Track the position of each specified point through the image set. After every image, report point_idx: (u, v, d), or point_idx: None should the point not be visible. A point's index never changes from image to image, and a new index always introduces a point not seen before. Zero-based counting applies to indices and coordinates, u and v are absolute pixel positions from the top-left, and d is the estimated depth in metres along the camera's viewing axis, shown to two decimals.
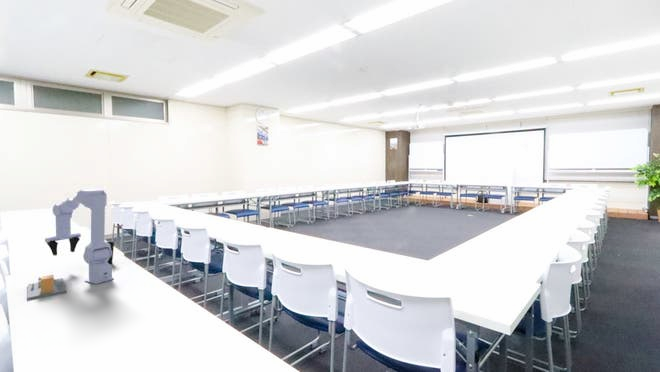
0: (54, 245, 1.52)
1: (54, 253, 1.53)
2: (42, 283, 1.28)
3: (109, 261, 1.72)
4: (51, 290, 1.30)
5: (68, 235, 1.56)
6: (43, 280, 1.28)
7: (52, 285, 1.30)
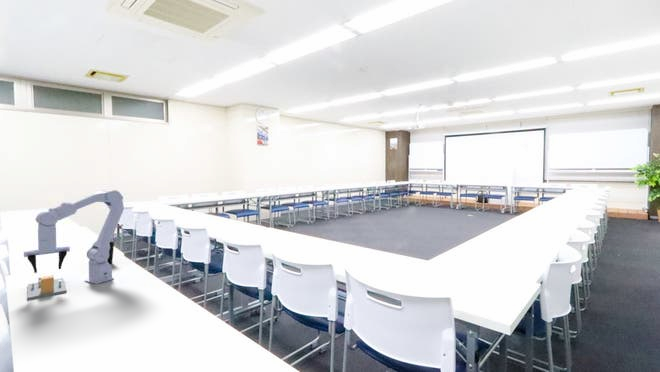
0: (31, 261, 1.26)
1: (34, 270, 1.28)
2: (42, 283, 1.28)
3: (109, 261, 1.72)
4: (51, 290, 1.30)
5: (50, 249, 1.30)
6: (43, 280, 1.28)
7: (52, 285, 1.30)
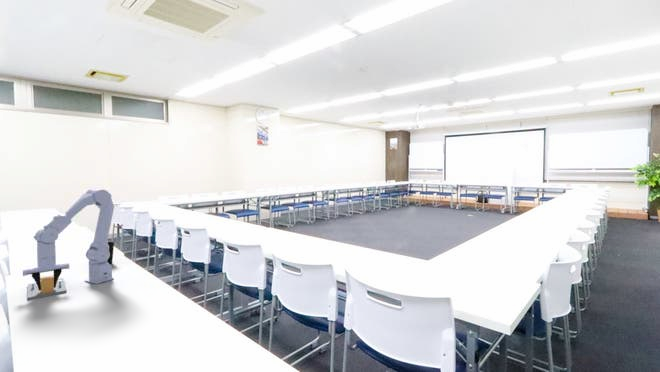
0: (36, 279, 1.26)
1: (38, 287, 1.28)
2: (42, 283, 1.28)
3: (109, 261, 1.72)
4: (51, 290, 1.30)
5: (49, 267, 1.28)
6: (43, 280, 1.28)
7: (52, 285, 1.30)
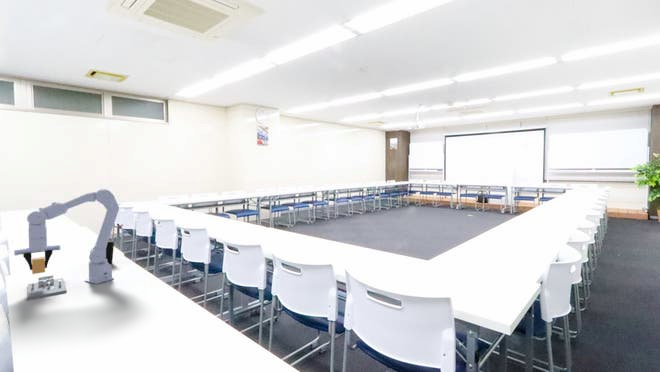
0: (27, 258, 1.30)
1: None
2: (33, 264, 1.32)
3: (109, 261, 1.72)
4: (42, 271, 1.34)
5: (40, 248, 1.33)
6: (34, 261, 1.32)
7: (43, 266, 1.34)
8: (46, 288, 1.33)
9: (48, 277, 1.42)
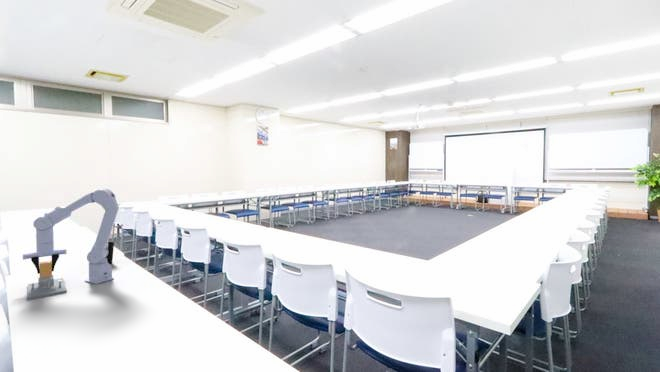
0: (35, 262, 1.35)
1: (37, 270, 1.37)
2: (41, 268, 1.36)
3: (109, 261, 1.72)
4: (49, 274, 1.38)
5: (47, 252, 1.37)
6: (42, 265, 1.37)
7: (50, 270, 1.39)
8: (46, 288, 1.33)
9: (48, 277, 1.42)
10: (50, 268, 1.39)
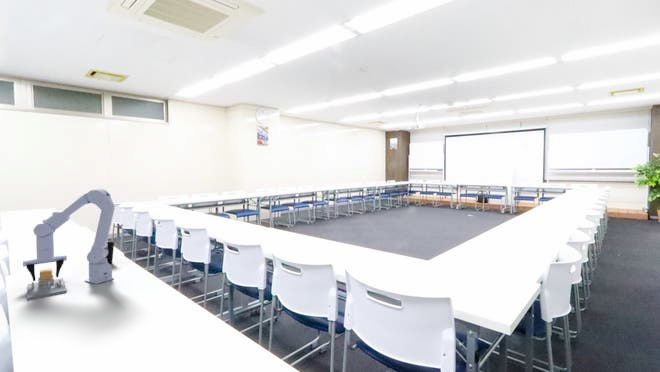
0: (30, 270, 1.34)
1: None
2: (41, 276, 1.37)
3: (109, 261, 1.72)
4: None
5: (48, 259, 1.38)
6: (42, 273, 1.37)
7: (50, 278, 1.39)
8: (46, 288, 1.33)
9: None
10: (50, 276, 1.39)
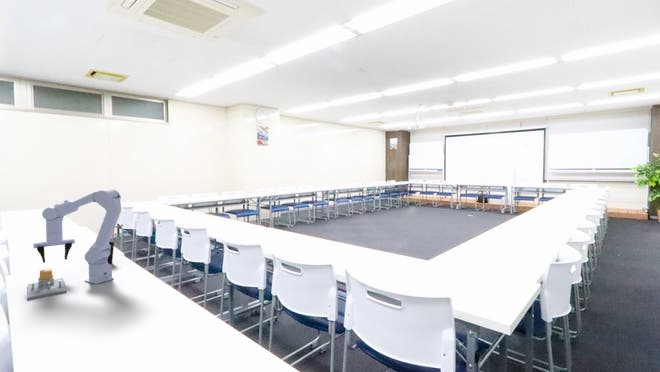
0: (40, 251, 1.40)
1: None
2: (41, 276, 1.37)
3: (109, 261, 1.72)
4: None
5: (57, 241, 1.43)
6: (42, 273, 1.37)
7: (50, 278, 1.39)
8: (46, 288, 1.33)
9: None
10: (50, 276, 1.39)
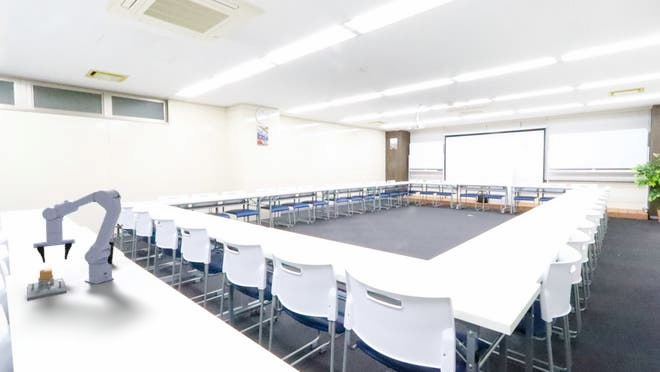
0: (40, 251, 1.40)
1: None
2: (41, 276, 1.37)
3: (109, 261, 1.72)
4: None
5: (57, 241, 1.43)
6: (42, 273, 1.37)
7: (50, 278, 1.39)
8: (46, 288, 1.33)
9: None
10: (50, 276, 1.39)
